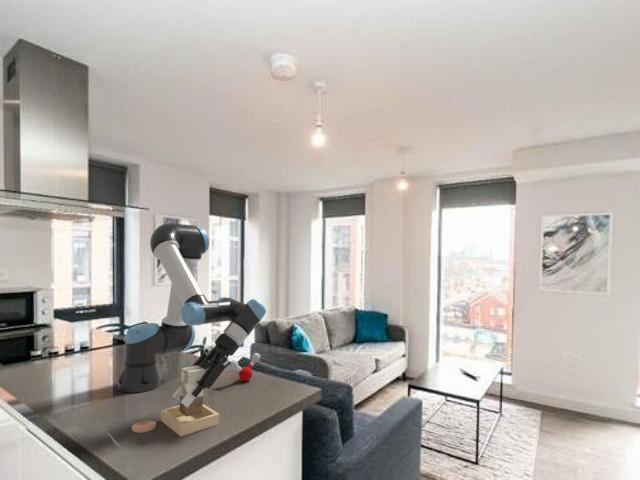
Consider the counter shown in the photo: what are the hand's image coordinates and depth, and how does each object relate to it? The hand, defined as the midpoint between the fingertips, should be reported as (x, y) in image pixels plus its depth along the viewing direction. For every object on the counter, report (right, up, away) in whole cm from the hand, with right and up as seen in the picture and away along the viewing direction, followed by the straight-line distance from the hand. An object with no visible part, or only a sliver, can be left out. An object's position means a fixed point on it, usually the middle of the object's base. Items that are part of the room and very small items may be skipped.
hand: (179, 401), depth 111 cm
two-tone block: (+2, -4, +2) cm, 5 cm away
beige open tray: (+2, -8, +2) cm, 8 cm away
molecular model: (+11, -11, +44) cm, 46 cm away
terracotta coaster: (-10, -7, -2) cm, 12 cm away
